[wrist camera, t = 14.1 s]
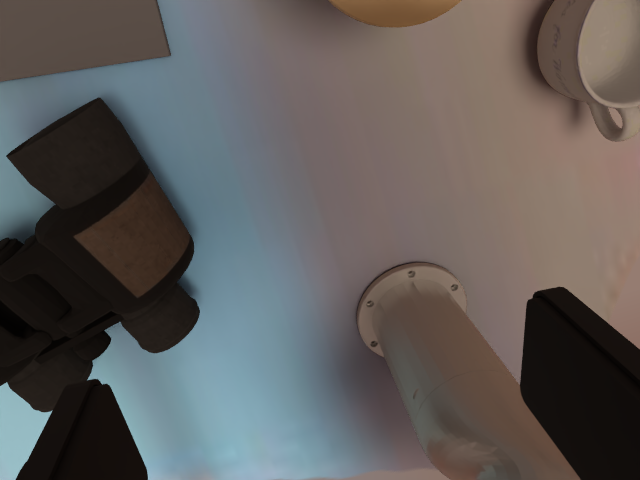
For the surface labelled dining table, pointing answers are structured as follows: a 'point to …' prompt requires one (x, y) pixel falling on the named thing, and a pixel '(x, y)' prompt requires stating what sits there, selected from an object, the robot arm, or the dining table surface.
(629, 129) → the teacup
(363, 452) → the dining table surface
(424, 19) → the oak lid
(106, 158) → the binoculars
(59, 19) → the rubber mat
